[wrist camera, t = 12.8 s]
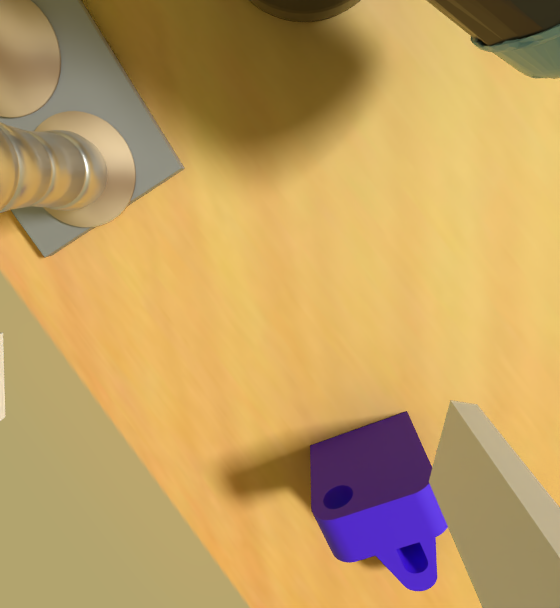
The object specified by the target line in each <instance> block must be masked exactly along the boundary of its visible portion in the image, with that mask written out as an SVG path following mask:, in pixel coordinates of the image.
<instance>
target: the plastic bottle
mask: <svg viewBox="0 0 560 608" xmlns="http://www.w3.org/2000/svg"><path fill="white" fill-rule="evenodd" d="M106 182H107V166H106V163H105V160H104V157H103V156H102V154H101V152H100V151H99V149H98V148H97V147H96V146H95V145H94V144H93V143H91V142H90V141H89V140H87V139H86V138H84V137H82V136H80V135H79V134H77V133H74V132H71V131H65V130H50V131H43V132H37V131H26V130H22V129H18V128H15V127H12V126H8V125H6V124H3V123H1V122H0V213H1V212H5V211H8V210H11V209H17V208H23V207H30V206H35V207H46V208H50V209H54V210H62V211H75V210H78V209H82V208H84V207H86V206H88V205H90V204H91V203H93V202H95V201H96V200H97V199H98V198H99V197H100V195H101V194H102V193H103V191H104V189H105V186H106Z"/></svg>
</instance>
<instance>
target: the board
mask: <svg viewBox="0 0 560 608" xmlns="http://www.w3.org/2000/svg"><path fill="white" fill-rule="evenodd" d="M31 1H32V2H33V3H35V4H36V5H37V6H38V7H39V8H40V9H41V11H42V12H43V13H44V14H45V16H46V17H47V18H48V20H49V22H50V23H51V25H52V27H53V29H54V31H55V34H56V36H57V39H58V43H59V47H60V52H61V73H60V78H59V82H58V85H57V87H56V90H55V92H54V94H53V95H52V97H51V98H50V100H49V101H48V102H47V103H46V104H45V105H44V106H43V107H42V108H41V109H39V110H38V111H36V112H34V113H32V114H30V115H27V116H24V117H18V118H9V117H2V116H0V122H1V123H3V124H6V125H8V126H12V127H15V128H18V129H22V130H26V131H35V130H36V128H37V127H38V126H39V125H40V124H41V123H42V122H43V121H45V120H46V119H47V118H49V117H51V116H53V115H55V114H58V113H61V112H67V111H80V112H85V113H89V114H92V115H95V116H97V117H100V118H101V119H103V120H105V121H107V122H108V123H109V124H110V125H112V126H113V127H114V128H115V129H116V130H117V131H118V132H119V133H120V134H121V136H122V137H123V138H124V140H125V141H126V143H127V144H128V146H129V148H130V150H131V153H132V156H133V159H134V163H135V168H136V184H135V190H134V193H133V196H132V198H131V201H130V203H129V204H128V205H130V204H131V203H133V202H134V201H136V200H137V199H139V198H141V197H142V196H144V195H145V194H147V193H148V192H150V191H151V190H153V189H154V188H156V187H157V186H159V185H160V184H162V183H164V182H165V181H167V180H168V179H170V178H171V177H173V176H174V175H176V174H177V173H179V172H180V171H182V170H183V169H185V168H184V167H183V165H182V163H181V162H180V160H179V158H178V157H177V155H176V154H175V152H174V150H173V149H172V147H171V145H170V144H169V142H168V141H167V139H166V137H165V136H164V134H163V132H162V131H161V129H160V128H159V126H158V124H157V123H156V121H155V119H154V118H153V116H152V115H151V113H150V111H149V110H148V108H147V106H146V105H145V103H144V102H143V100H142V98H141V97H140V95H139V93H138V92H137V90H136V89H135V87H134V85H133V84H132V82H131V80H130V79H129V77H128V75H127V74H126V72H125V71H124V69H123V67H122V66H121V64H120V62H119V61H118V59H117V58H116V56H115V54H114V53H113V51H112V49H111V48H110V46H109V45H108V43H107V41H106V40H105V38H104V36H103V35H102V33H101V32H100V30H99V28H98V27H97V25H96V23H95V22H94V20H93V19H92V17H91V15H90V14H89V12H88V10H87V9H86V7H85V6H84V4H83V2H82V1H81V0H31ZM11 211H12V213H13V214H14V215H15V217H16V218H17V220H18V221H19V222H20V224H21V225H22V227H23V228H24V229H25V231H26V232H27V233H28V235H29V236H30V238H31V239H32V240H33V242H34V243H35V245H36V246H37V247H38V249H39V250H40V252H41V253H42V254H43V256H44V257H48V256H52V255H53V254H55V253H56V252H58V251H59V250H61V249H62V248H64V247H65V246H67V245H68V244H70V243H72V242H73V241H75V240H76V239H78V238H79V237H81V236H82V235H84V234H85V233H87V232H88V231H90V230H91V229H93V228H95V227H77V226H73V225H69V224H66V223H64V222H62V221H60V220H58V219H56V218H55V217H54V216H52V215H51V214H49V213H48V212H47V211H46V210H45V209H44V208H43V207H35V206H30V207H23V208H17V209H11Z"/></svg>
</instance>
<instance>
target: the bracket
mask: <svg viewBox="0 0 560 608" xmlns="http://www.w3.org/2000/svg"><path fill="white" fill-rule="evenodd" d="M310 461H311V509H312V512H313V515H314V517H315V519H316V521H317V523H318V525H319V527H320V529H321V531H322V533H323V535H324V537H325V539H326V541H327V543H328V545H329V547H330V549H331V551H332V553H333V555H334V556H335V557H336V558H337V559H338V560H340V561H343V562H356V561H359V560H363V559H366V558H369V557H372V556H376V557H377V558H378V559H379V560H380V561H381V562H382V563H383V564H384V565H385V566H386V567H387V568H388V569H389V570H390V571H391V572H392V573H393V574H394V575H395V577H396V578H397V579H398V580H399V581H400V582H401V583H402V584H403V585H404V586H405V587H406V588H408V589H410V590H413V591H424V590H427V589H429V588H431V587H432V586H433V585H434V584H435V582H436V580H437V564H436V541H435V537H437V536H438V535H440V534H442V533H443V532H444V531H445V530H446V529H447V527H448V526H447V523H446V521H445V519H444V516H443V514H442V512H441V509H440V507H439V505H438V502H437V500H436V498H435V495H434V493H433V491H432V488H431V486H430V484H429V479H430V475H431V471H432V466H431V464H430V462H429V460H428V457H427V455H426V453H425V451H424V448H423V446H422V444H421V442H420V439H419V437H418V435H417V433H416V430H415V428H414V426H413V424H412V421H411V419H410V417H409V415H408V412H407V411H406V412H403V413H400V414H398V415H395V416H392V417H389V418H386V419H384V420H381V421H378V422H375V423H372V424H369V425H367V426H364V427H361V428H358V429H355V430H353V431H350V432H347V433H344V434H341V435H338V436H336V437H333V438H330V439H327V440H324V441H322V442H319V443H316V444H313V445H310Z"/></svg>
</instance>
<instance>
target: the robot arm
mask: <svg viewBox="0 0 560 608" xmlns="http://www.w3.org/2000/svg"><path fill="white" fill-rule="evenodd" d="M249 1H250V2H252V3H253V4H254V5H255V6H257V7H258V8H260V9H261V10H263V11H265V12H267V13H269V14H271V15H273V16H276V17H278V18H282V19H285V20H290V21H298V22H310V21H318V20H323V19H327V18H330V17H333V16H335V15H338V14H340V13H342V12H344V11H346V10H348V9H349V8H351V7H352V6H354V5H355V4H356V3H358V2H359V1H360V0H249ZM427 1H428V2H429V3H430V4H432V5H433V6H434V7H435V8H437V9H438V10H439V11H440V12H442V13H443V14H444V15H445V16H447V17H448V18H449V19H450V20H452V21H453V22H454V23H456V24H457V25H458V26H459V27H461V28H462V29H463V30H464V31H466V32H467V33H468V34H469V35H471V41H472V43H473V44H475V45H476V46H477V47H478V48H479V49H481V50H485V51H488V52H493V53H494V54H495V55H497V56H498V57H500V58H501V59H503V60H504V61H505V62H507V63H508V64H510V65H511V66H512V67H514V68H515V69H517V70H518V71H519V72H521V73H523V74H524V75H527V76H529V77H532V78H553V79H555V78H560V0H427ZM4 394H5V391H4V354H3V333H0V421H1V420H2V419H3V418H4V417H5V395H4ZM429 484H430V486H431V488H432V491H433V493H434V495H435V498H436V500H437V502H438V505H439V507H440V509H441V512H442V514H443V516H444V519H445V521H446V523H447V526H448V528H449V530H450V533H451V535H452V537H453V540H454V542H455V544H456V547H457V549H458V551H459V554H460V556H461V558H462V561H463V563H464V565H465V568H466V570H467V572H468V575H469V577H470V579H471V582H472V584H473V586H474V589H475V591H476V593H477V596H478V598H479V600H480V603H481V605H482V607H483V608H560V507H559V506H558V505H557V504H556V502H555V501H554V500H553V499H552V497H551V496H550V495H549V494H548V492H547V491H546V490H545V489H544V487H543V486H542V485H541V484H540V482H539V481H538V480H537V479H536V477H535V476H534V475H533V474H532V472H531V471H530V470H529V469H528V467H527V466H526V465H525V464H524V462H523V461H522V460H521V459H520V457H519V456H518V455H517V454H516V452H515V451H514V450H513V449H512V447H511V446H510V445H509V444H508V443H507V441H506V440H505V439H504V438H503V436H502V435H501V434H500V433H499V431H498V430H497V429H496V428H495V426H494V425H493V424H492V423H491V421H490V420H489V419H488V418H487V416H486V415H485V414H484V413H483V411H482V410H481V409H480V408H479V406H478V405H477V404H471V403H464V402H458V401H451V400H450V404H449V408H448V412H447V415H446V419H445V423H444V426H443V430H442V434H441V438H440V441H439V445H438V449H437V453H436V456H435V460H434V464H433V468H432V471H431V475H430V479H429Z"/></svg>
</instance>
